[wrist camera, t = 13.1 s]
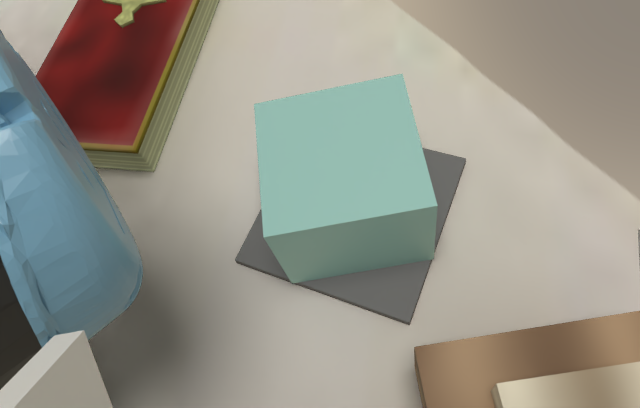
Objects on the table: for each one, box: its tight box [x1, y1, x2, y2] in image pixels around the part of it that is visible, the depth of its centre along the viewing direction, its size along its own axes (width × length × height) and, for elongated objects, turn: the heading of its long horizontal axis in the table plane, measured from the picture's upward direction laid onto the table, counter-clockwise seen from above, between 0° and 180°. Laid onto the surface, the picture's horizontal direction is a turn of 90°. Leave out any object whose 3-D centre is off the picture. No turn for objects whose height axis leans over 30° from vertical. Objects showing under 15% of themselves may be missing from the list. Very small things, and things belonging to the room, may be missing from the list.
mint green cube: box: [254, 74, 438, 284], centre depth 31 cm, size 9×9×7 cm
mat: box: [235, 148, 466, 325], centre depth 35 cm, size 12×12×1 cm
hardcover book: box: [36, 0, 219, 172], centre depth 44 cm, size 12×21×4 cm, turn 170°
